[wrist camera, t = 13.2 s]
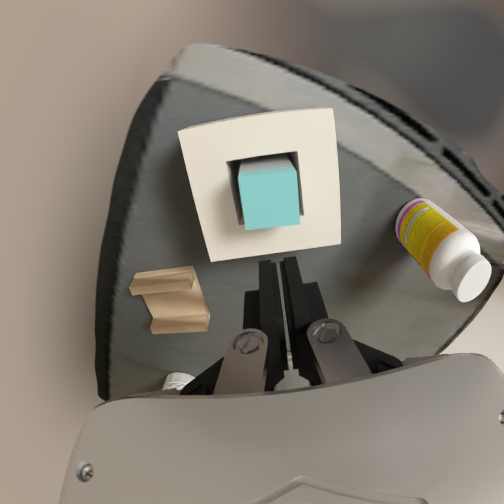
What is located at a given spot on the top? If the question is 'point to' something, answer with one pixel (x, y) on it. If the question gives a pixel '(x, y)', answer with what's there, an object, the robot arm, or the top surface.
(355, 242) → the top surface
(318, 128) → the port block
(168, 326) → the cradle
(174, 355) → the top surface
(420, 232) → the supplement bottle
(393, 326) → the top surface
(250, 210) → the plug
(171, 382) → the white cup
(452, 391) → the robot arm
